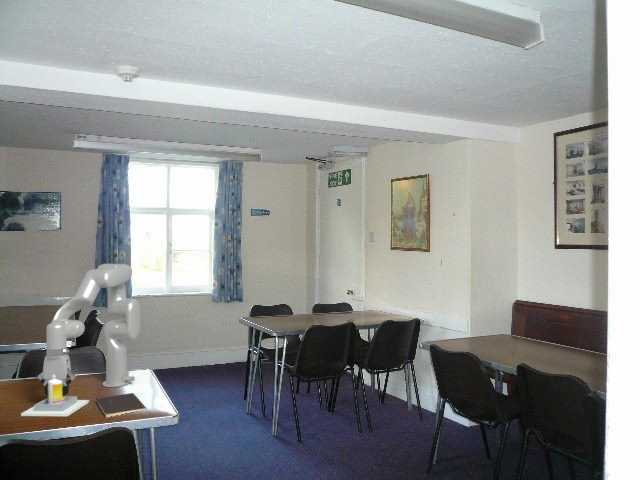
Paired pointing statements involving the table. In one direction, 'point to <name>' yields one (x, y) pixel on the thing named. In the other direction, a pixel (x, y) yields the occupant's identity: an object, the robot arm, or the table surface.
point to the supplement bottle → (55, 391)
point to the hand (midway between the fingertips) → (56, 394)
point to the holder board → (56, 407)
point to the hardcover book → (120, 404)
